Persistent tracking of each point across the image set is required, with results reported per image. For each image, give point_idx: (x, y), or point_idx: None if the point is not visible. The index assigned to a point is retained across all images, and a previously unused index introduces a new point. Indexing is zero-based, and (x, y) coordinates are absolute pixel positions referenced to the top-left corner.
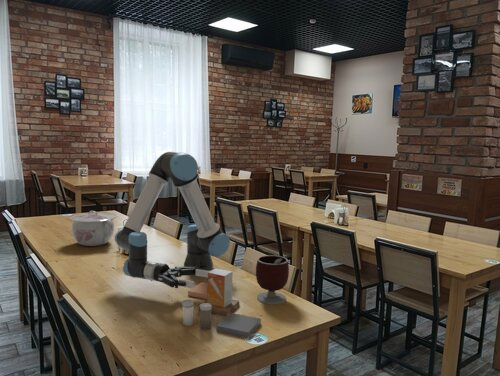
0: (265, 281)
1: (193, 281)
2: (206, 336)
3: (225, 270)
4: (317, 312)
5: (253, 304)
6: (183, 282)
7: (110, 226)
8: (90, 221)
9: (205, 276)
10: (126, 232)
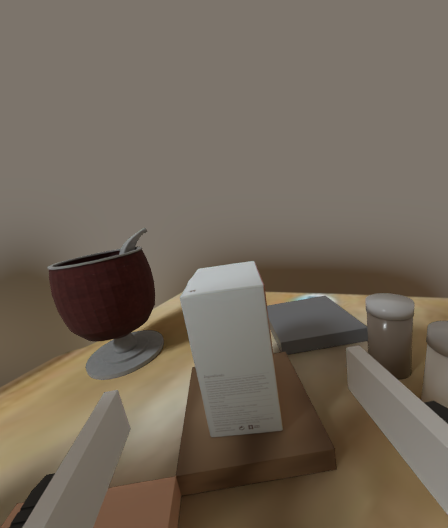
0: (151, 294)
1: (355, 347)
2: (412, 340)
3: (195, 277)
4: (178, 300)
5: (175, 361)
6: (444, 412)
7: None
8: None
9: (115, 458)
10: None
